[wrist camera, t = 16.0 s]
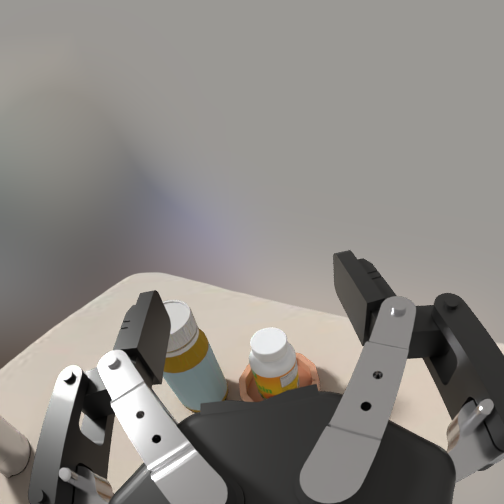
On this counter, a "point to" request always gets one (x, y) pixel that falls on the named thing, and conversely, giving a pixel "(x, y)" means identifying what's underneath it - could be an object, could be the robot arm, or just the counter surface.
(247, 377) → the terracotta dish
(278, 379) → the supplement bottle
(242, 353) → the counter surface
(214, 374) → the bottle
